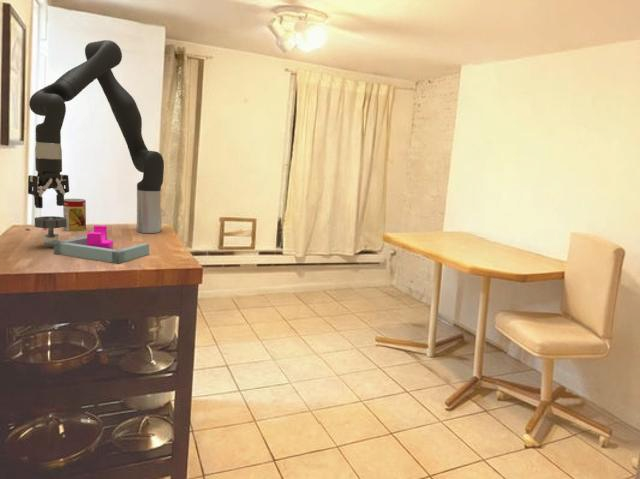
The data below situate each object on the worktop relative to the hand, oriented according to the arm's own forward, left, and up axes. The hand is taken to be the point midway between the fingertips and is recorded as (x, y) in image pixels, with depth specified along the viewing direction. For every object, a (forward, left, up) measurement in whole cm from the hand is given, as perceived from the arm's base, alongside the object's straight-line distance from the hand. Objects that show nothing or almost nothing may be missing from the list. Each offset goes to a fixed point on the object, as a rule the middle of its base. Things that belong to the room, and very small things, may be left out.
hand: (49, 206), depth 154 cm
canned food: (-28, -16, -14) cm, 35 cm away
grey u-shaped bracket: (-1, +20, -13) cm, 24 cm away
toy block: (-4, +17, -14) cm, 22 cm away
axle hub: (0, 0, -13) cm, 13 cm away
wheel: (0, 0, -6) cm, 6 cm away
